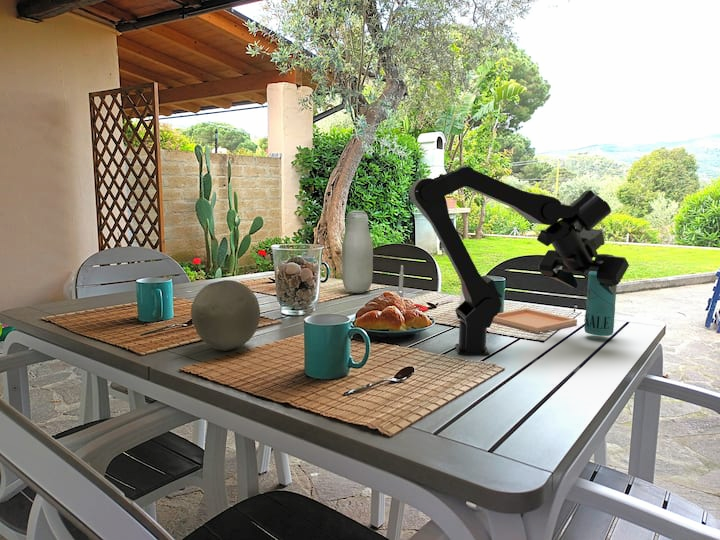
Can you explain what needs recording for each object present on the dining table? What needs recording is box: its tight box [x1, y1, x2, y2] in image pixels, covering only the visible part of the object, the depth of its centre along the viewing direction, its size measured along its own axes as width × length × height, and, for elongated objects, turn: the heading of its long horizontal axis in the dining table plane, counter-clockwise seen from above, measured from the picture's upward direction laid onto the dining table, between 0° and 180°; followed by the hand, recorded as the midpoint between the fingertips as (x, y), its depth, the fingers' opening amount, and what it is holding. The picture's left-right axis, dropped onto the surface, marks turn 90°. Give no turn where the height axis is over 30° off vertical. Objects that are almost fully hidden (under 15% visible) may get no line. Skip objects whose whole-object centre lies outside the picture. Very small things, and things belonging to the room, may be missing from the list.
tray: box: [492, 307, 578, 334], centre depth 137 cm, size 16×16×2 cm
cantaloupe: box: [190, 279, 261, 352], centre depth 110 cm, size 14×14×15 cm
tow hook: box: [397, 264, 429, 313], centre depth 151 cm, size 8×13×9 cm
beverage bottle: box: [583, 253, 618, 337], centre depth 121 cm, size 6×7×20 cm
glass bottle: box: [341, 209, 374, 294], centre depth 175 cm, size 10×10×28 cm
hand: (594, 290), depth 119 cm, fingers open, 9 cm apart
